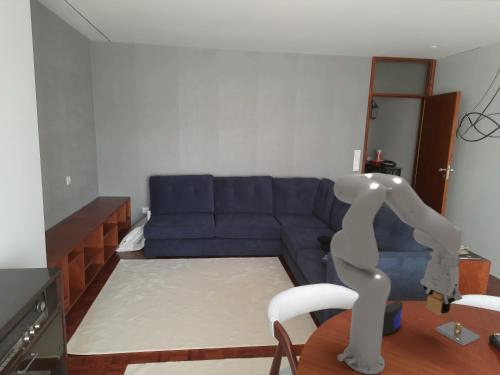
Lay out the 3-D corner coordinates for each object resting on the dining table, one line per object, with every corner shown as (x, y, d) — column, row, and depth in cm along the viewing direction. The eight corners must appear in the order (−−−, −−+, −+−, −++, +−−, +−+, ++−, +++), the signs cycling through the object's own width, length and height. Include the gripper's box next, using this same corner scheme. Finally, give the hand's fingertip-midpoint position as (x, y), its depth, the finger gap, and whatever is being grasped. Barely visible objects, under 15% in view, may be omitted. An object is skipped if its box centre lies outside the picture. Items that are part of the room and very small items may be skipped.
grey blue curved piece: (381, 340, 116) (384, 315, 114) (370, 333, 119) (372, 309, 118) (407, 326, 125) (409, 303, 123) (396, 320, 128) (398, 298, 127)
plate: (462, 345, 113) (464, 334, 113) (435, 330, 122) (437, 319, 122) (479, 338, 118) (481, 327, 117) (451, 324, 127) (453, 313, 126)
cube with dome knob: (439, 315, 112) (441, 297, 111) (425, 308, 116) (428, 290, 115) (447, 312, 114) (450, 294, 113) (434, 305, 119) (437, 288, 118)
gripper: (415, 252, 118) (408, 299, 121) (463, 270, 103) (454, 323, 106) (428, 250, 122) (421, 296, 124) (476, 267, 107) (467, 319, 109)
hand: (436, 308), depth 115 cm, fingers closed on cube with dome knob, 5 cm apart
